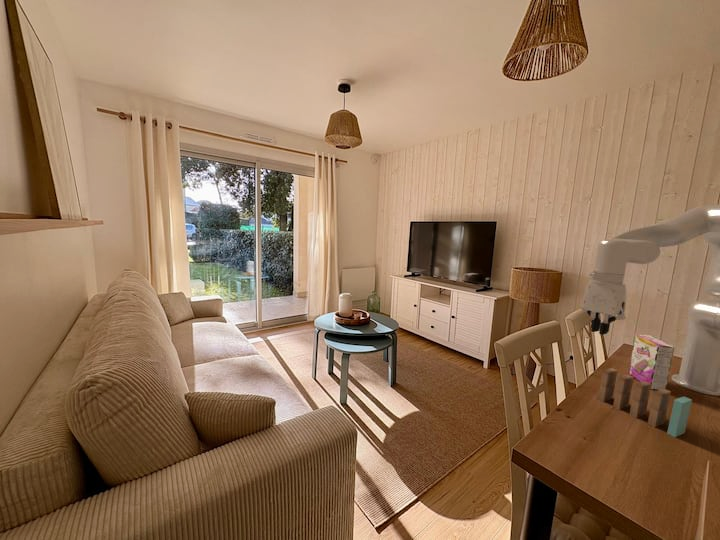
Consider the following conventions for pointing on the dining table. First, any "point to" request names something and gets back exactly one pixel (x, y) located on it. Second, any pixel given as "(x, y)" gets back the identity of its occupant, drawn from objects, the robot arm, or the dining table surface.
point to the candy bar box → (651, 361)
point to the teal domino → (679, 416)
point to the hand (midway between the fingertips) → (599, 332)
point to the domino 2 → (623, 391)
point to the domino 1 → (607, 384)
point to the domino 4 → (659, 407)
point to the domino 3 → (640, 399)
